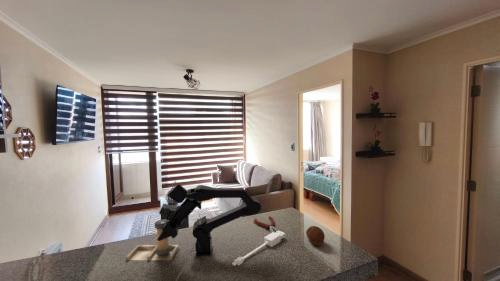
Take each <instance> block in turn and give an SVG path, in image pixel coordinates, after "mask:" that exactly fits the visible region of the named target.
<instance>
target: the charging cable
mask: <svg viewBox="0 0 500 281" xmlns="http://www.w3.org/2000/svg"><path fill="white" fill-rule="evenodd" d="M285 237H286V233H285V232H283V231H281V230H277V232H270V233H269V234H266V236H264V237H263V243H262V244H261V245H259V246H258V247H256V248H255V249H252V250H251V251H250V252H249V253H247V254H246V255H244V256H238V257H237V258H235V259H234V260H233V262H232V263H231V265H232V266H233V267H236V265H237V266H238V267H239V266H240V265H241V264H243V263H244V261H245V260H246V259H247V258H248V257H250V256H252V255H253V254H254V253H256V252H257V251H259V250H261V249H262V248H263V247H265V246H268V247H271V248H273V247H274V246H276V245H277V244H279V243H280V242H281V241H282V239H283V238H285Z"/></svg>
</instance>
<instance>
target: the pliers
mask: <svg viewBox="0 0 500 281" xmlns="http://www.w3.org/2000/svg"><path fill="white" fill-rule="evenodd" d="M268 219H269V221H270V222H271V223H270V224H268V223H265V222H261V221H259V220H258V219H257V218H254V219H253V222H254V224H255V225H256V226H259V227H261V228H264V229H265V230H266V231H268V230H269V231H270V233H272V232H274V233H275V232H277V231H278V229H277V228H276V224H275V220H274V218H273V217H272V216H270V215H269V216H268Z"/></svg>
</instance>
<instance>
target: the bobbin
mask: <svg viewBox="0 0 500 281" xmlns="http://www.w3.org/2000/svg"><path fill="white" fill-rule="evenodd" d="M166 222H170V221H169V220H167V218H166V219H165V218H164V219H160V220H156V221H155V222H154V229H156V238H157V239H158V237H159V236H160V234H161V233H162V231H163V229H162V228H163V225H164V224H165V223H166ZM157 239H156V240H157ZM156 244H157V245H158V247H157V248H156V254H157V255H159V256H162V255H166V254H168V253H169V252H170V251H171V246H170V245H169V244H170V242H169V237H168V238H165V239H163V240H161V241H158V240H157V243H156Z"/></svg>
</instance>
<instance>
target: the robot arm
mask: <svg viewBox="0 0 500 281" xmlns="http://www.w3.org/2000/svg"><path fill="white" fill-rule="evenodd" d="M166 196H167V197H168V198H170V199H171V200H172V201H173V202H174V203H176V204H180V205H177V206H176V207H175V206H173V205H169V204H167V203H163V204H162V205H161V207H160V210H159V211H158V214H159V215H162V216H165V217H166V219H167V220H169V221H170V222H166V223H165V224H164V225H163V228H162V229H163V231H162V233H161V234H160V236H159V237H158V239H156V240H158V241H161V240H163V239H165V238H168V239H169V238H170V237H171V238H172V239H175V238H176V237H177V236H178V234H179V227H181V226H182V223H184V221H185V220H187V219H188V218H189V216H190V214H191V213H193V211H194V210H196V208H198V209H199V210H202V202H205V201H209V200H213V199H241V200H242V201H243V202H242V203H241V204H240V205H239V206H237V207H234V208H232V209H229V210H227V211H225V212H222V213H221V214H218V215H216V216H213V217H210V218H207V216H206V215H205V216H203V217H201V218H196V220H195V222H194V223H193V225H192V232H191V233H192V236H193V237H194V238H195V240H196V241H195V245H194V248H195V252H196V253H195V256H211V254H212V252H213V249H214V247H213V238H212V237H213V236H212V235H211V232H212V231H213V230H215V229H217V228H219V227H221V226H224V225H225V224H229V223H230V222H232V221H234V220H237V219H239V218H241V217H244V216H247V217H248V216H253V215H257V214H259V213H260V212H261V209H262V205H261V203H260V201H259V200H258V199H257V198H256V197H254V196H251V195H250V194H249V193H248V192H247V191H246V189H245V188H244V187H211V186H210V185H203V184H199V185H197V186H196V187H194V188H189V189H186V188H185V187H183V185H182V184H181V183H177V184H176V185H175V186H173V187H172V188H171V189H170V191H169V192H168V193H167V194H166Z"/></svg>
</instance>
